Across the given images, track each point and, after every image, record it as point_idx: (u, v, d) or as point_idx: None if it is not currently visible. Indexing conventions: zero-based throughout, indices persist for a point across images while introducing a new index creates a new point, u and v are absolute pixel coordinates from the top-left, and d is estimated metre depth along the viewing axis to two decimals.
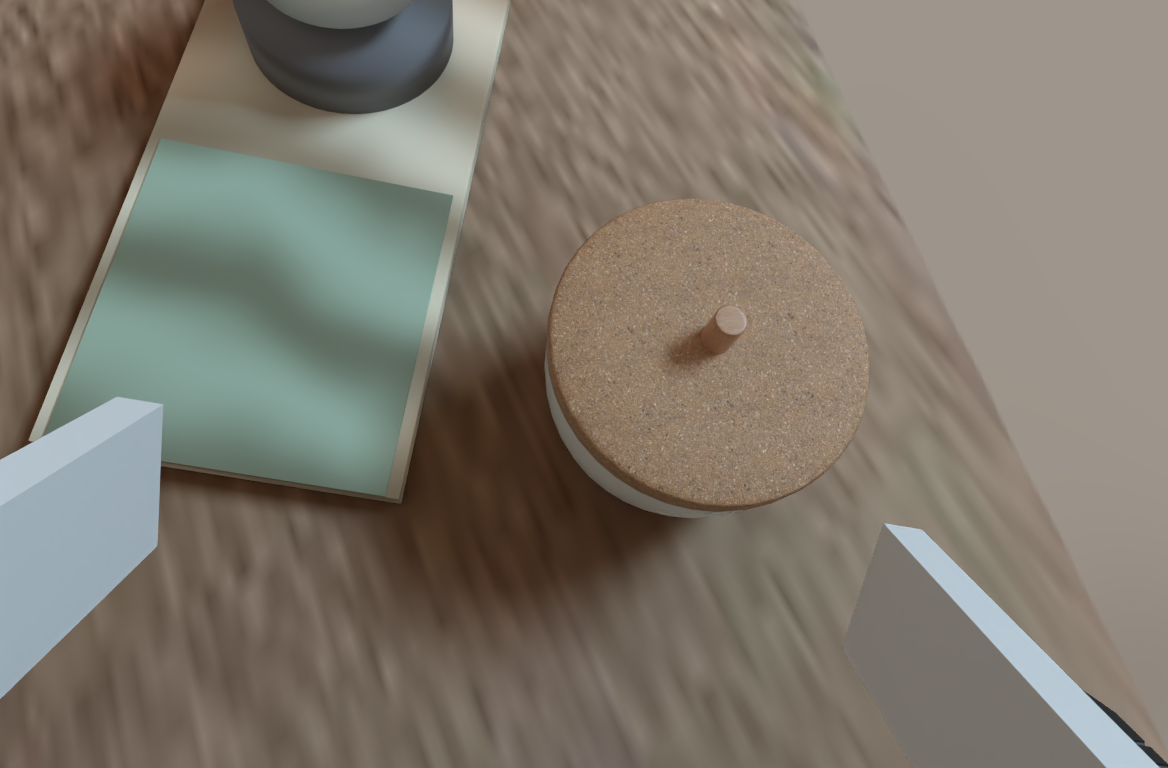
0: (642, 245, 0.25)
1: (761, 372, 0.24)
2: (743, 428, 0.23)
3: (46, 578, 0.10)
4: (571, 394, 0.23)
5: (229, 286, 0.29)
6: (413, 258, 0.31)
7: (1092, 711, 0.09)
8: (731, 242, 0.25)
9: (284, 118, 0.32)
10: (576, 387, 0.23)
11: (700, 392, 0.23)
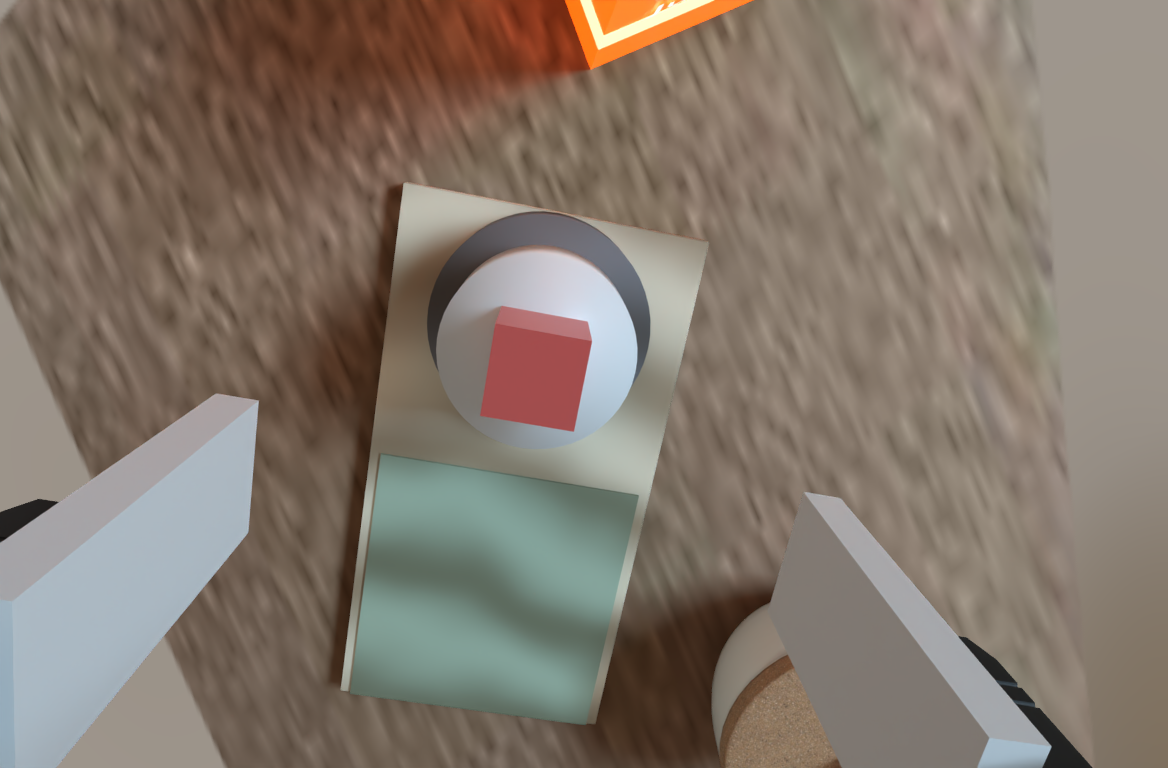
0: (807, 697, 0.31)
1: None
2: None
3: (173, 558, 0.11)
4: None
5: (459, 583, 0.36)
6: (604, 554, 0.36)
7: (960, 651, 0.10)
8: None
9: None
10: None
11: None
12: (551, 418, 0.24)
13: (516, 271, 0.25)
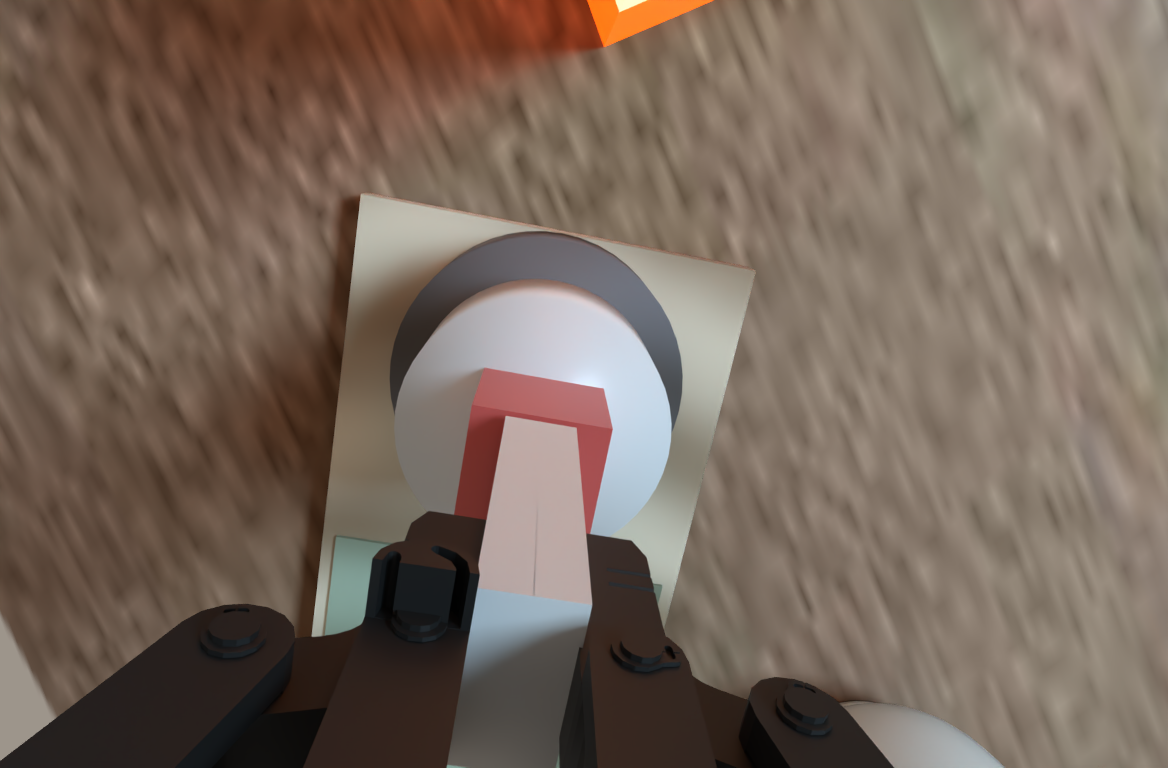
0: None
1: None
2: None
3: None
4: None
5: None
6: None
7: (575, 538, 0.11)
8: None
9: None
10: None
11: None
12: None
13: (505, 319, 0.18)
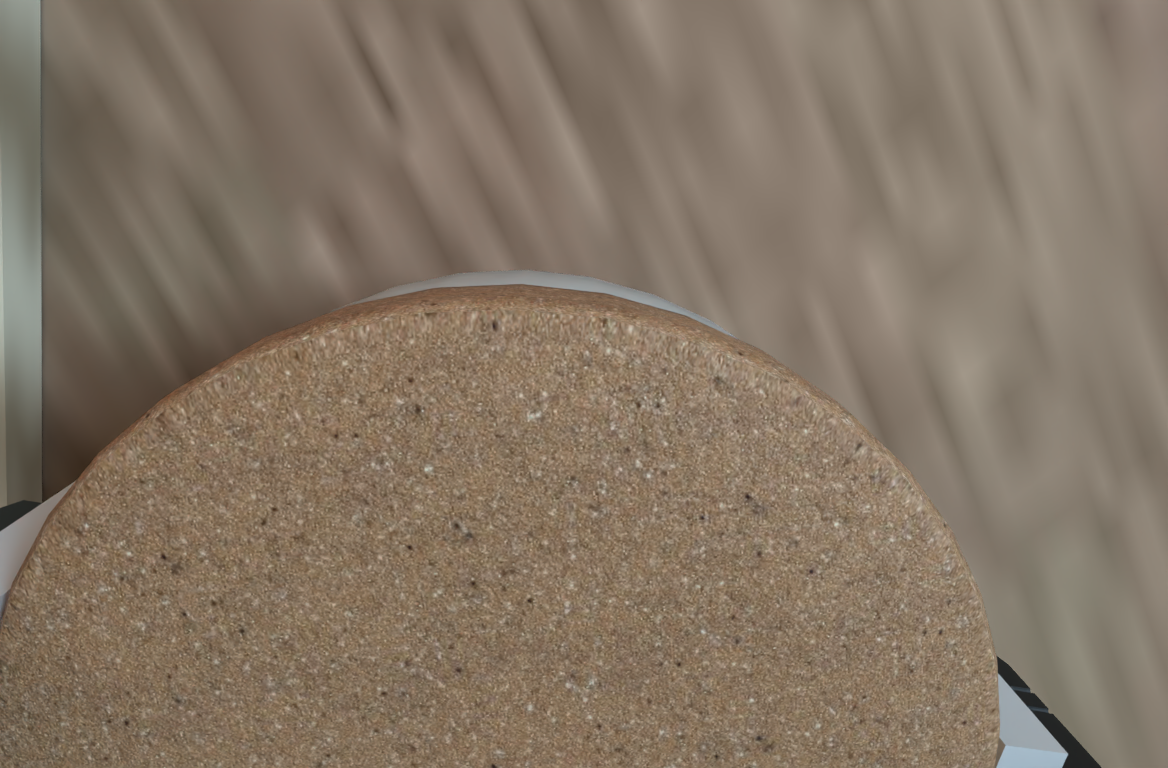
0: (262, 527, 0.07)
1: None
2: None
3: None
4: None
5: None
6: None
7: None
8: (601, 504, 0.07)
9: None
10: None
11: None
12: None
13: None
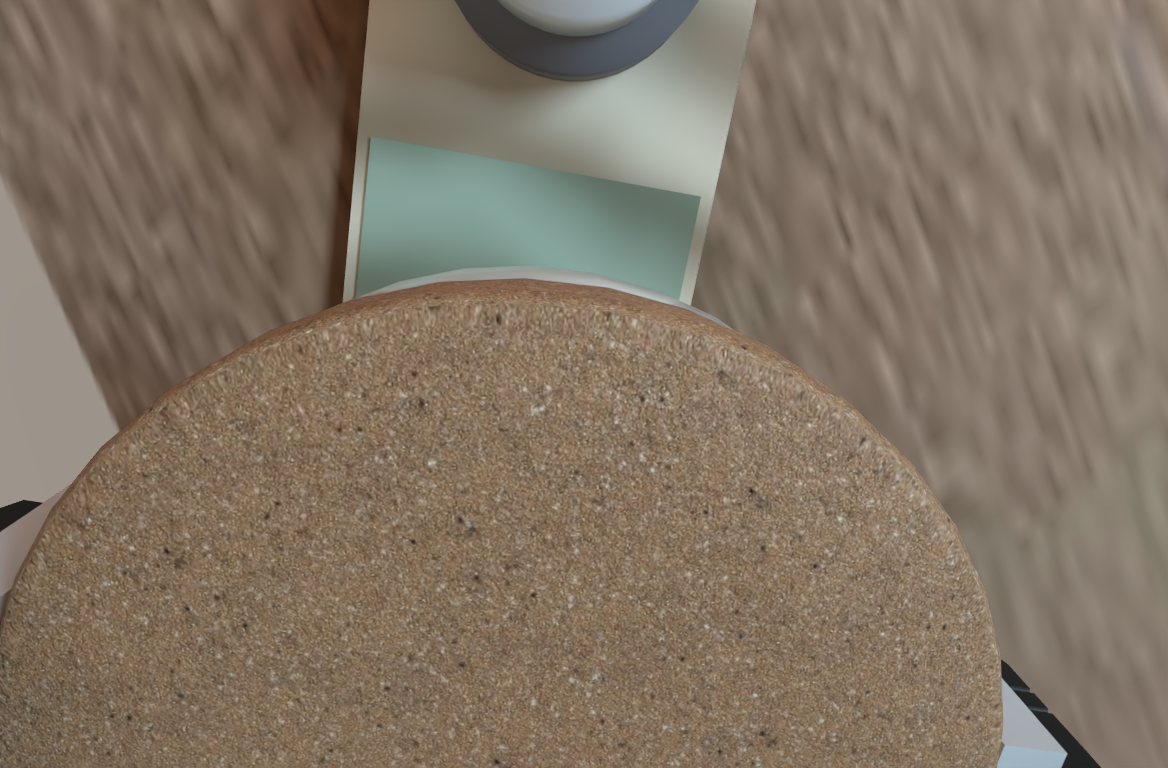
0: (265, 521, 0.07)
1: None
2: None
3: None
4: None
5: None
6: (656, 279, 0.28)
7: None
8: (605, 499, 0.07)
9: (503, 94, 0.27)
10: None
11: None
12: None
13: None
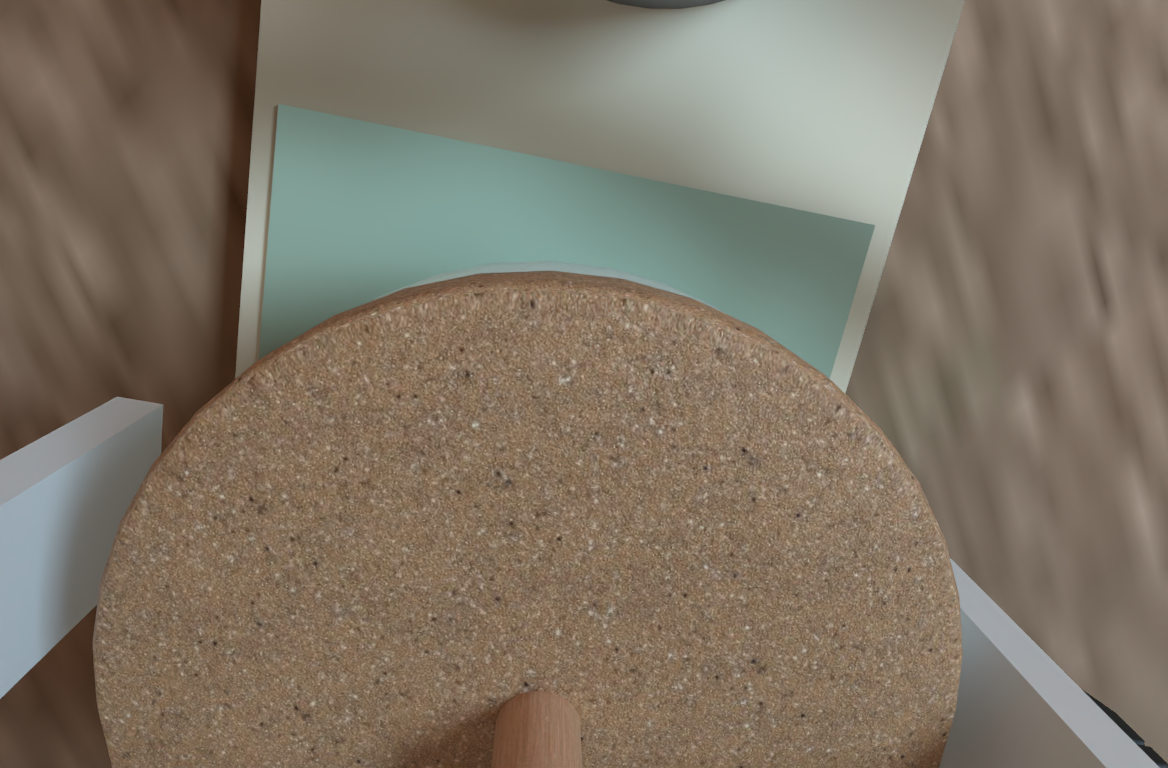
0: (335, 474, 0.08)
1: None
2: None
3: (46, 578, 0.10)
4: None
5: None
6: None
7: (1092, 711, 0.09)
8: (620, 456, 0.08)
9: (525, 29, 0.14)
10: None
11: None
12: None
13: None
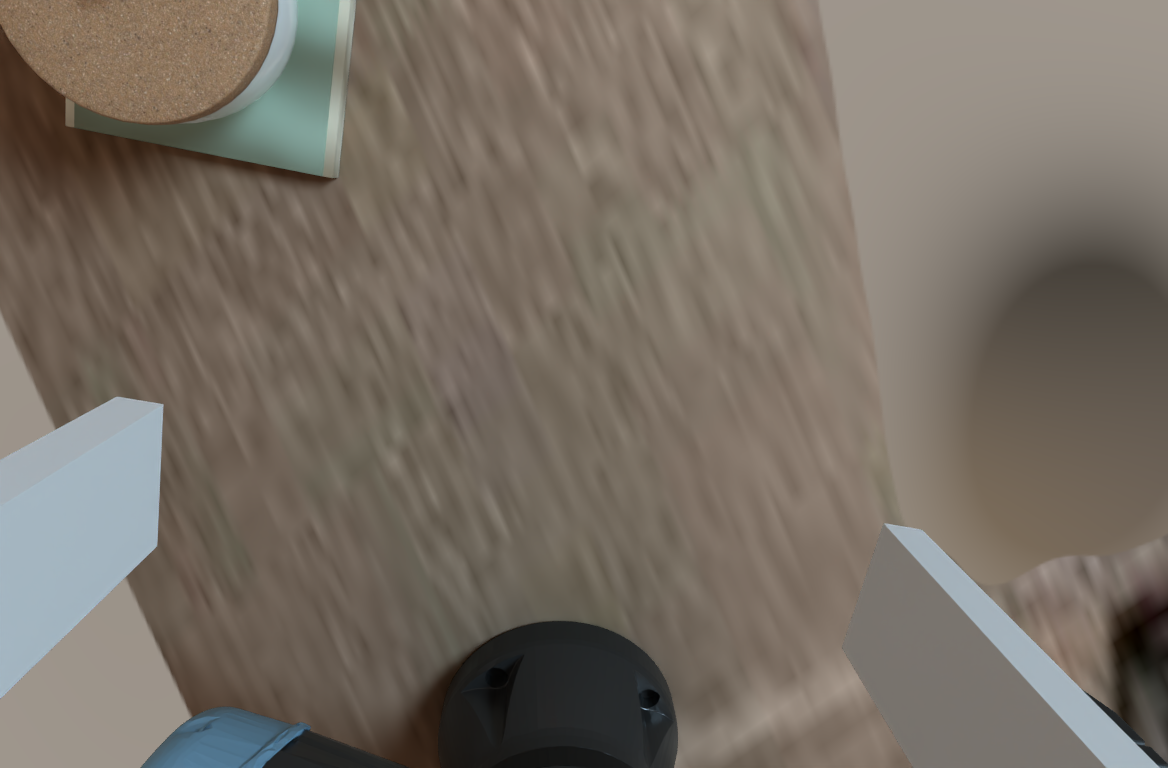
0: None
1: (164, 7, 0.29)
2: (149, 59, 0.29)
3: (46, 578, 0.10)
4: (5, 24, 0.29)
5: None
6: None
7: (1092, 711, 0.09)
8: None
9: None
10: (7, 18, 0.29)
11: (111, 25, 0.29)
12: None
13: None
